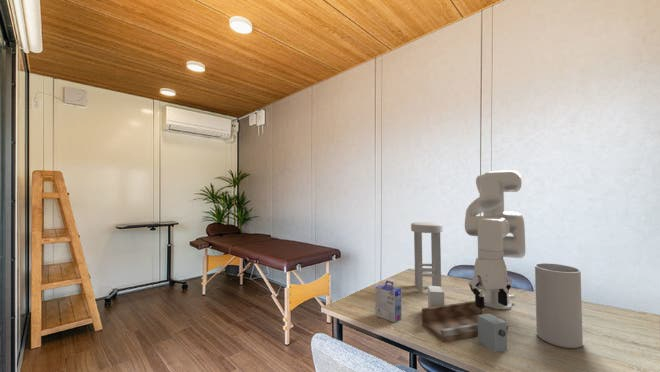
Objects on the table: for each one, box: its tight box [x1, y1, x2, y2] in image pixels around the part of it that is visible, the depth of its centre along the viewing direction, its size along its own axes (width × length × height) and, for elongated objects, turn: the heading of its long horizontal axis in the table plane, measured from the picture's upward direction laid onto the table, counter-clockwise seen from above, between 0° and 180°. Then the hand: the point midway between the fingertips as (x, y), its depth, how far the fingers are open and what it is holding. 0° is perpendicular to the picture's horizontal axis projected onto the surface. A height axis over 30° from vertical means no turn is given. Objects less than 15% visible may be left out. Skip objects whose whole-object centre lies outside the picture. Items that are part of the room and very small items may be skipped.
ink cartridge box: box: [374, 279, 403, 323], centre depth 118 cm, size 10×6×14 cm, turn 47°
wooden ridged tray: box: [421, 300, 509, 343], centre depth 108 cm, size 28×13×6 cm, turn 106°
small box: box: [427, 285, 445, 308], centre depth 121 cm, size 8×6×10 cm
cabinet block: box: [477, 313, 508, 353], centre depth 96 cm, size 5×8×9 cm, turn 16°
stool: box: [410, 221, 444, 294], centre depth 152 cm, size 16×16×35 cm
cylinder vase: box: [534, 262, 584, 349], centre depth 99 cm, size 12×12×25 cm
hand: (491, 306), depth 96 cm, fingers open, 9 cm apart
